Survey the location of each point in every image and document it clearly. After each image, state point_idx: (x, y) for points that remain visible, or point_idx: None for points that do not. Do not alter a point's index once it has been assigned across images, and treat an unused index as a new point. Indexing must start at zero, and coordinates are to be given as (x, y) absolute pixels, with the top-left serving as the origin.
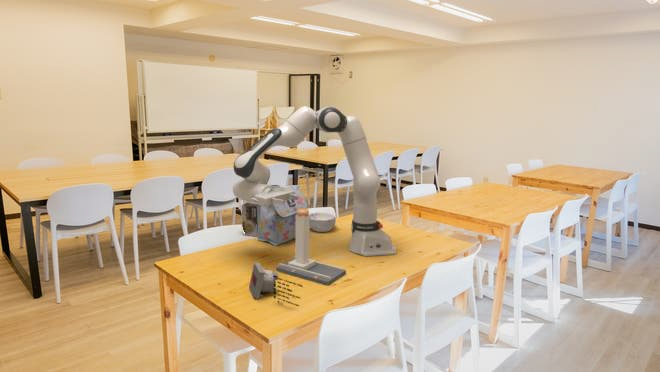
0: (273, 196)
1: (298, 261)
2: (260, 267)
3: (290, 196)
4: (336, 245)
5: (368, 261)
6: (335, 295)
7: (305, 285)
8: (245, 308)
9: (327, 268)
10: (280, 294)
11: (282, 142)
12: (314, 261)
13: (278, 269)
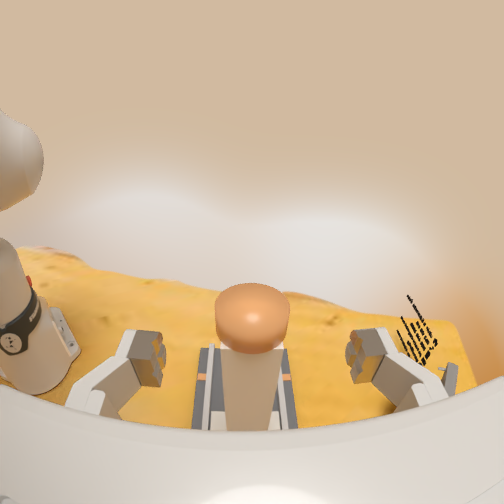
0: (435, 403)
1: None
2: (447, 387)
3: (113, 415)
4: None
5: (108, 339)
6: (309, 326)
7: (319, 386)
8: (460, 389)
9: (215, 384)
10: (415, 354)
11: None
12: (219, 411)
13: None
